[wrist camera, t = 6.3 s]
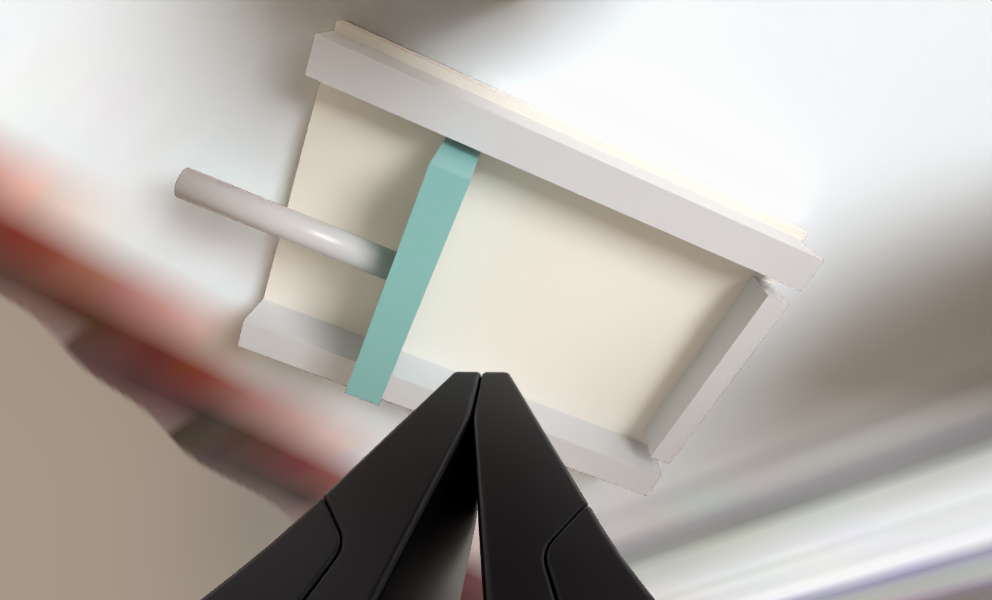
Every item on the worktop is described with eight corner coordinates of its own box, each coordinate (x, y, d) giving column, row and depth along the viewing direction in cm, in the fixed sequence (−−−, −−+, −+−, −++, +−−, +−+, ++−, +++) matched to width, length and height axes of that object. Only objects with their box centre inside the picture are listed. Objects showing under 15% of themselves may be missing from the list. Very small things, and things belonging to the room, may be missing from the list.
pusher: (480, 151, 19) (470, 180, 16) (400, 349, 23) (378, 405, 20) (235, 44, 18) (173, 53, 15) (192, 270, 22) (135, 316, 19)
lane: (798, 225, 21) (830, 252, 19) (633, 458, 26) (642, 500, 24) (343, 20, 19) (317, 22, 16) (263, 319, 24) (236, 352, 22)
